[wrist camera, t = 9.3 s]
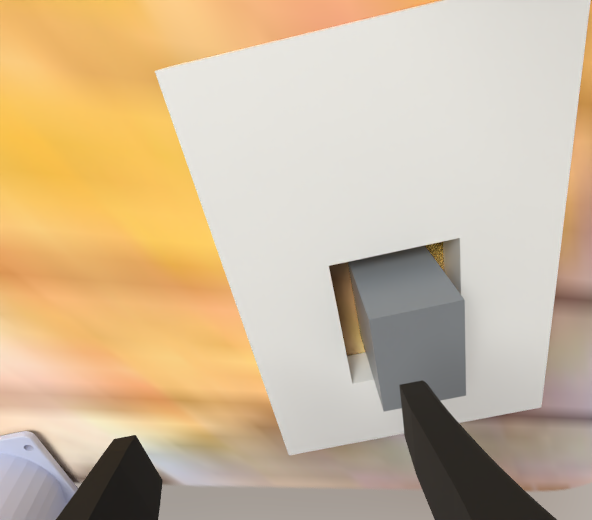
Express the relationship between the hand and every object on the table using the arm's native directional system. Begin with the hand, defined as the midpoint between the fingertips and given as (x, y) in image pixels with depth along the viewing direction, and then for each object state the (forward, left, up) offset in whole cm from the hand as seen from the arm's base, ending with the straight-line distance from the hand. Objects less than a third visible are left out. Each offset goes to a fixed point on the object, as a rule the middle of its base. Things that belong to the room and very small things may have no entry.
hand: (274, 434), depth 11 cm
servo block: (-3, -5, -9) cm, 11 cm away
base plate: (-1, -5, -9) cm, 11 cm away
